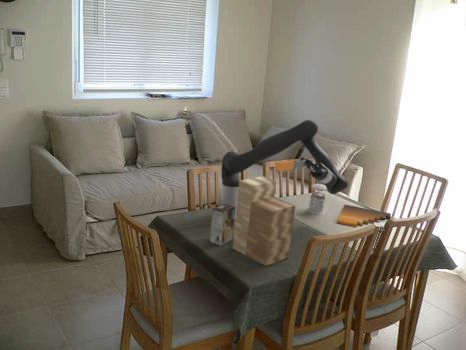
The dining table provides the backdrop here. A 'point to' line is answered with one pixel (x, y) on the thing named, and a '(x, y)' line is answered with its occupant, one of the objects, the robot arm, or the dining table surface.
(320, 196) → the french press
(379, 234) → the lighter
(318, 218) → the dining table surface
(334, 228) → the dining table surface
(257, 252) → the stand
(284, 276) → the dining table surface
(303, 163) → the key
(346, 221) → the pan flute
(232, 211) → the coffee box
